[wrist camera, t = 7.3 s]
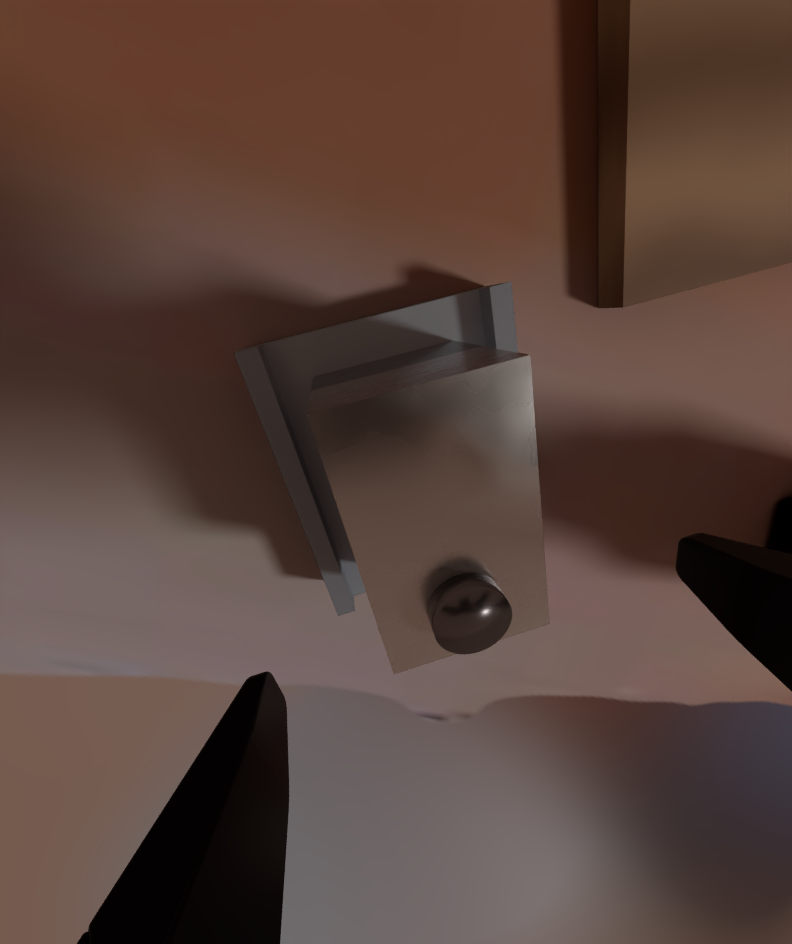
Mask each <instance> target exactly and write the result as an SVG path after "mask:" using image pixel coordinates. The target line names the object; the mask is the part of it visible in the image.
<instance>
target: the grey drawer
mask: <svg viewBox="0 0 792 944" xmlns="http://www.w3.org/2000/svg"><path fill="white" fill-rule="evenodd" d="M307 418H308V421H309V424H310V427H311V430H312V433H313V436H314V439H315V442H316V445H317V448H318V451H319V454H320V457H321V459H322V462H323V465H324V468H325V471H326V474H327V477H328V480H329V483H330V486H331V489H332V492H333V495H334V498H335V501H336V504H337V507H338V510H339V513H340V516H341V519H342V522H343V525H344V528H345V530H346V533H347V536H348V539H349V542H350V545H351V548H352V551H353V554H354V557H355V560H356V563H357V566H358V569H359V572H360V575H361V578H362V581H363V584H364V587H365V590H366V593H367V596H368V599H369V602H370V604H371V607H372V610H373V613H374V616H375V619H376V622H377V625H378V628H379V631H380V634H381V637H382V640H383V643H384V646H385V649H386V652H387V655H388V658H389V661H390V664H391V667H392V670H393V673H394V674H396V673H399V672H402V671H405V670H408V669H411V668H415V667H418V666H421V665H424V664H427V663H430V662H433V661H436V660H439V659H442V658H445V657H449V656H452V655H455V654H471V653H476V652H479V651H482V650H485V649H487V648H489V647H490V646H492V645H493V644H495V643H496V642H497V641H499V640H501V639H504V638H507V637H510V636H513V635H516V634H520V633H523V632H526V631H529V630H532V629H535V628H538V627H541V626H544V625H547V624H550V621H549V607H548V593H547V580H546V566H545V552H544V538H543V525H542V511H541V497H540V483H539V469H538V456H537V442H536V428H535V414H534V401H533V387H532V373H531V359H530V355H528V354H523V353H518V352H512V351H507V350H502V349H496V348H491V347H486V346H480V345H475V344H469V343H464V342H459V341H453V340H452V341H448V342H444V343H440V344H436V345H432V346H429V347H425V348H421V349H417V350H413V351H410V352H406V353H402V354H398V355H394V356H390V357H387V358H383V359H379V360H375V361H371V362H367V363H364V364H360V365H356V366H352V367H348V368H345V369H341V370H337V371H333V372H329V373H325V374H322V375H318V376H314V377H313V382H312V387H311V393H310V398H309V404H308V409H307Z"/></svg>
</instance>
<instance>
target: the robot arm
mask: <svg viewBox="0 0 792 944" xmlns="http://www.w3.org/2000/svg"><path fill="white" fill-rule="evenodd" d="M676 571H677V573H678V575H679V577H680V578H681V580H682V581H683V582H684V583H685V584H686V585H687V586H688V587H689V589H690V590H691V591H692V592H693V593H694V594H695V595H696V596H697V597H698V598H699V599H700V601H701V602H702V603H703V604H704V605H705V606H706V607H707V608H708V609H709V610H710V611H711V613H712V614H713V615H714V616H715V617H716V618H717V619H718V620H719V621H720V622H721V624H722V625H723V626H724V627H725V628H726V629H727V630H728V631H729V632H730V633H731V634H732V635H733V636H734V637H735V638H736V640H737V641H738V642H739V643H741V644H742V645H743V646H744V647H745V648H746V649H747V650H748V651H749V652H750V653H751V654H752V655H753V656H754V657H755V658H756V659H757V660H758V661H760V662H761V663H762V664H763V665H764V666H765V667H766V668H767V669H768V670H769V671H770V672H771V673H772V674H773V675H775V676H776V677H777V678H778V679H779V680H780V681H781V682H782V683H783V684H784V685H785V686H786V687H787V688H789V689H790V690H791V691H792V497H789V498H786V499H784V500H782V501H781V502H780V503H779V504H778V507H777V510H776V514H775V519H774V523H773V527H772V532H771V536H770V540H769V545H768V549H766V548H762V547H758V546H754V545H750V544H746V543H741V542H737V541H733V540H729V539H725V538H721V537H716V536H712V535H708V534H704V533H696V534H693V535H690V536H687V537H684V538H682V539H681V540H680V541H679V544H678V551H677V560H676ZM288 811H289V767H288V734H287V707H286V701H285V698H284V695H283V693H282V692H281V690H280V688H279V686H278V684H277V682H276V681H275V679H274V677H273V675H272V674H271V673H270V672H263V673H260V674H257V675H254V676H251V677H249V678H248V679H247V680H246V681H245V683H244V684H243V686H242V687H241V689H240V690H239V692H238V693H237V695H236V697H235V698H234V700H233V701H232V703H231V704H230V706H229V708H228V709H227V711H226V712H225V714H224V715H223V717H222V719H221V720H220V722H219V723H218V725H217V726H216V728H215V729H214V731H213V732H212V734H211V736H210V737H209V739H208V740H207V742H206V743H205V745H204V747H203V748H202V750H201V751H200V753H199V754H198V756H197V757H196V759H195V761H194V762H193V764H192V765H191V767H190V768H189V770H188V771H187V773H186V775H185V776H184V778H183V779H182V781H181V782H180V784H179V785H178V787H177V789H176V790H175V792H174V793H173V795H172V796H171V798H170V800H169V801H168V803H167V804H166V806H165V807H164V809H163V811H162V812H161V814H160V815H159V817H158V818H157V820H156V821H155V823H154V824H153V826H152V828H151V829H150V831H149V832H148V834H147V835H146V837H145V839H144V840H143V842H142V843H141V845H140V847H139V848H138V849H137V851H136V853H135V854H134V856H133V858H132V859H131V860H130V862H129V863H128V865H127V867H126V868H125V870H124V871H123V873H122V874H121V876H120V878H119V879H118V881H117V882H116V884H115V885H114V887H113V888H112V890H111V892H110V893H109V895H108V896H107V898H106V899H105V901H104V903H103V904H102V906H101V907H100V909H99V910H98V912H97V913H96V915H95V917H94V918H93V920H92V921H91V923H90V925H89V929H88V932H85V933H84V934H83V935H82V936H81V938H80V940H79V941H78V943H77V944H280V935H281V919H282V904H283V889H284V873H285V858H286V843H287V826H288Z"/></svg>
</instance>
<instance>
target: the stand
mask: <svg viewBox="0 0 792 944" xmlns="http://www.w3.org/2000/svg"><path fill="white" fill-rule="evenodd" d="M791 262H792V0H598V308H619V307H626V306H630V305H634V304H638V303H641V302H645V301H649V300H652V299H656V298H660V297H664V296H667V295H671V294H675V293H679V292H682V291H686V290H690V289H694V288H697V287H701V286H705V285H708V284H712V283H716V282H720V281H723V280H727V279H731V278H735V277H738V276H742V275H746V274H750V273H753V272H757V271H761V270H764V269H768V268H772V267H776V266H779V265H783V264H787V263H791Z"/></svg>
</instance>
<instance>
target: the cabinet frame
mask: <svg viewBox="0 0 792 944" xmlns="http://www.w3.org/2000/svg"><path fill="white" fill-rule="evenodd" d="M452 340H453V341H459V342H464V343H469V344H475V345H480V346H486V347H491V348H496V349H502V350H507V351H512V352H518V351H517V340H516V329H515V318H514V307H513V295H512V284H511V282H507V283H500V284H495V285H490V286H485V287H481V288H477V289H473V290H469V291H465V292H461V293H457V294H453V295H450V296H446V297H442V298H438V299H434V300H430V301H426V302H422V303H418V304H414V305H411V306H407V307H403V308H399V309H395V310H391V311H387V312H383V313H379V314H376V315H372V316H368V317H364V318H360V319H356V320H352V321H348V322H344V323H340V324H337V325H333V326H329V327H325V328H321V329H317V330H313V331H309V332H305V333H301V334H298V335H294V336H290V337H286V338H282V339H278V340H274V341H270V342H266V343H263V344H259V345H255V346H251V347H247V348H244V349H241V350H239V351H237V352H235V353H234V356H235V358H236V361H237V363H238V366H239V368H240V371H241V373H242V376H243V378H244V381H245V383H246V386H247V388H248V391H249V393H250V396H251V398H252V401H253V403H254V406H255V408H256V411H257V413H258V416H259V418H260V421H261V423H262V426H263V428H264V431H265V433H266V436H267V438H268V441H269V443H270V446H271V448H272V451H273V454H274V456H275V459H276V461H277V464H278V466H279V469H280V471H281V474H282V476H283V479H284V481H285V484H286V486H287V489H288V491H289V494H290V496H291V499H292V501H293V504H294V506H295V509H296V511H297V514H298V516H299V519H300V521H301V524H302V526H303V529H304V531H305V534H306V536H307V539H308V541H309V544H310V546H311V549H312V551H313V554H314V556H315V559H316V561H317V564H318V567H319V569H320V572H321V574H322V577H323V579H324V582H325V584H326V587H327V589H328V592H329V594H330V597H331V599H332V602H333V604H334V607H335V609H336V612H337V614H338V616H339V615H343V614H346V613H349V612H352V611H355V607H354V597H353V596H355V595H358V594H362V593H365V592H366V590H365V587H364V584H363V581H362V578H361V575H360V572H359V569H358V566H357V563H356V560H355V557H354V554H353V551H352V548H351V545H350V542H349V539H348V536H347V533H346V530H345V528H344V525H343V522H342V519H341V516H340V513H339V510H338V507H337V504H336V501H335V498H334V495H333V492H332V489H331V486H330V483H329V480H328V477H327V474H326V471H325V468H324V465H323V462H322V459H321V457H320V454H319V451H318V448H317V445H316V442H315V439H314V436H313V433H312V430H311V427H310V424H309V421H308V418H307V409H308V404H309V398H310V393H311V387H312V382H313V377H314V376H318V375H322V374H325V373H329V372H333V371H337V370H341V369H345V368H348V367H352V366H356V365H360V364H364V363H367V362H371V361H375V360H379V359H383V358H387V357H390V356H394V355H398V354H402V353H406V352H410V351H413V350H417V349H421V348H425V347H429V346H432V345H436V344H440V343H444V342H448V341H452Z"/></svg>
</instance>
